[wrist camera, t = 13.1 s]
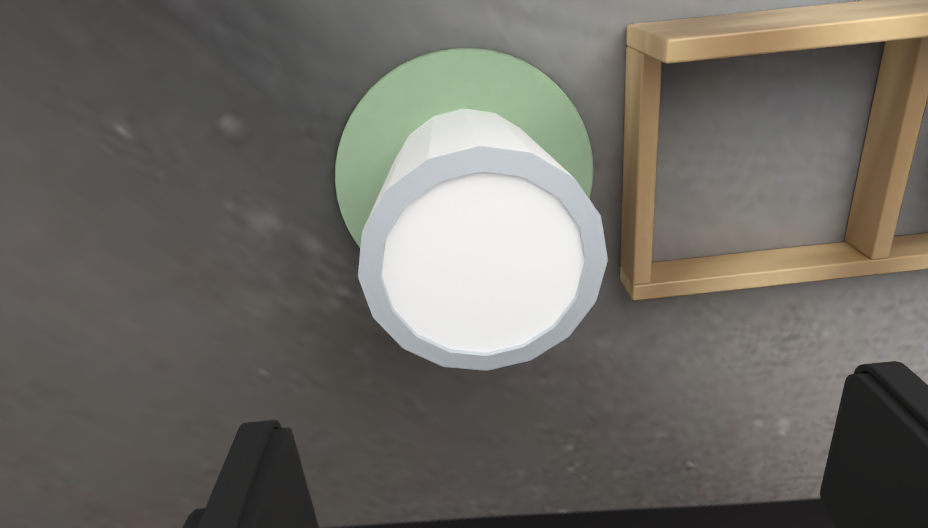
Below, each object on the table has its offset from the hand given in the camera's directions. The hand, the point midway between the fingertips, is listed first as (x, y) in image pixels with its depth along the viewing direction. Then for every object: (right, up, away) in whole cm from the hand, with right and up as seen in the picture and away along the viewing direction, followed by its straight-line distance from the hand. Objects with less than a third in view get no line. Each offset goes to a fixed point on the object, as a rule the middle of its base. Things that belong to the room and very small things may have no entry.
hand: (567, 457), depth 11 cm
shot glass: (-2, +6, +13) cm, 14 cm away
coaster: (-2, +6, +13) cm, 15 cm away
